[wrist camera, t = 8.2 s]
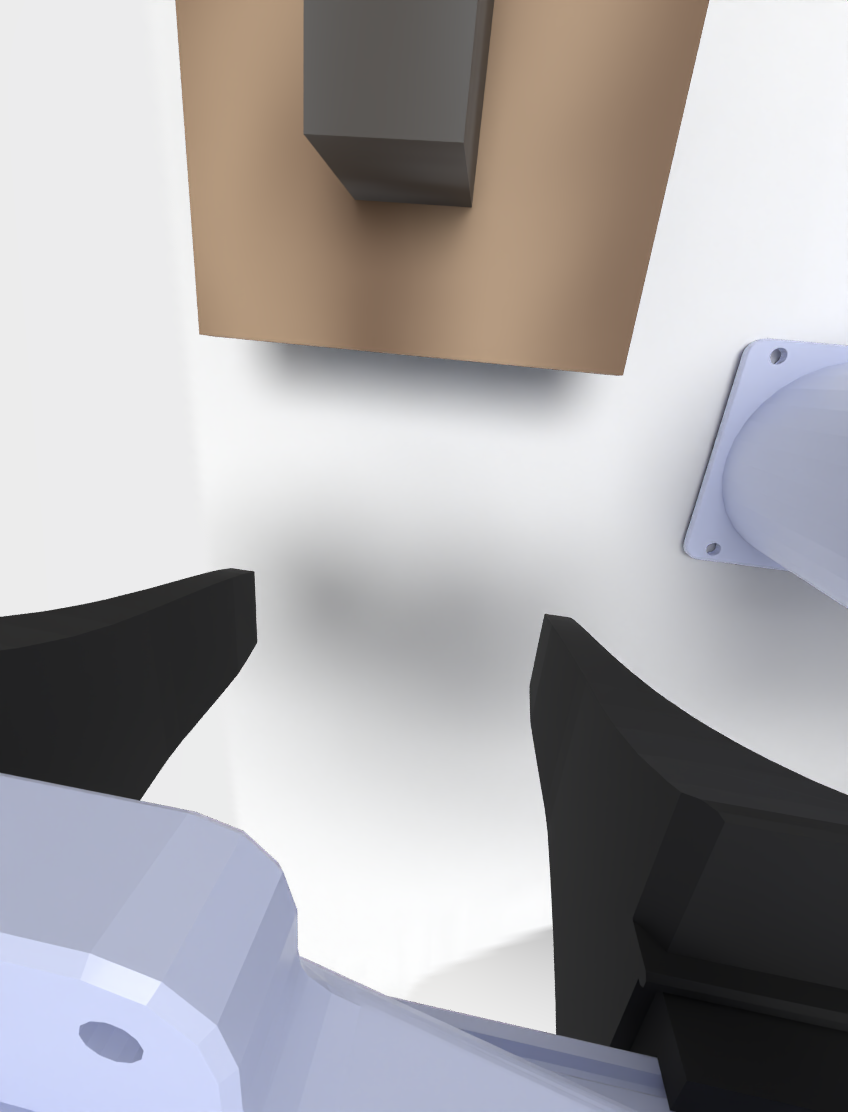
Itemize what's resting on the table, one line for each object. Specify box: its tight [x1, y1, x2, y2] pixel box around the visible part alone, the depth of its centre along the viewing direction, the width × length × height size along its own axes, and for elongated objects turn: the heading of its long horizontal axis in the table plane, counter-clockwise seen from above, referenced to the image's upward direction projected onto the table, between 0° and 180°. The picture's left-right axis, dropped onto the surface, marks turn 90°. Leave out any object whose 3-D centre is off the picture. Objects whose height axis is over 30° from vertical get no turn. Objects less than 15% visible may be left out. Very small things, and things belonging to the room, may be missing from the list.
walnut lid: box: [175, 0, 709, 376], centre depth 10 cm, size 12×12×4 cm
